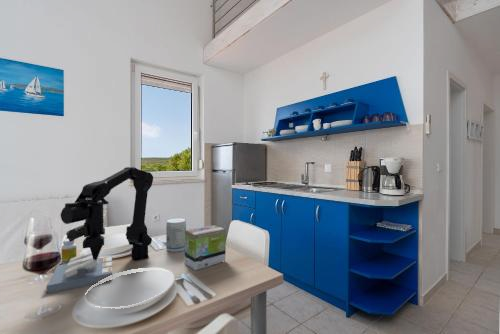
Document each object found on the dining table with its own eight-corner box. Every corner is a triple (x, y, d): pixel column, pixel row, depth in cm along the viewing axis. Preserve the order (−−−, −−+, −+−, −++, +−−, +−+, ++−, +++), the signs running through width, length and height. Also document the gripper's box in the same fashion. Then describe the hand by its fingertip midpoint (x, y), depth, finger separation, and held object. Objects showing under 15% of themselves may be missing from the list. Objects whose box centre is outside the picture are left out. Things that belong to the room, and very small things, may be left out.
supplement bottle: (68, 264, 106) (68, 242, 105) (58, 263, 107) (57, 241, 107) (79, 259, 111) (79, 238, 111) (69, 259, 112) (69, 237, 112)
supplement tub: (163, 248, 125) (163, 219, 125) (181, 244, 131) (181, 217, 131) (170, 254, 117) (170, 223, 117) (189, 249, 123) (188, 220, 123)
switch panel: (111, 262, 108) (111, 249, 108) (112, 279, 91) (112, 264, 91) (57, 271, 98) (57, 257, 98) (47, 293, 82) (46, 276, 82)
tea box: (195, 271, 98) (195, 234, 98) (184, 264, 106) (184, 229, 105) (226, 261, 108) (226, 228, 108) (213, 255, 116) (213, 224, 115)
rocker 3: (98, 261, 94) (97, 256, 93) (98, 264, 91) (96, 260, 90) (67, 273, 89) (65, 269, 89) (66, 277, 86) (64, 273, 86)
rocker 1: (99, 251, 104) (98, 247, 104) (99, 254, 101) (97, 250, 101) (72, 262, 99) (70, 258, 99) (70, 265, 96) (69, 261, 96)
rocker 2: (99, 257, 99) (98, 253, 99) (98, 260, 96) (97, 255, 96) (69, 266, 94) (68, 262, 94) (67, 270, 91) (66, 265, 91)
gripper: (71, 215, 96) (72, 255, 96) (63, 225, 79) (64, 273, 80) (104, 212, 101) (105, 250, 101) (103, 221, 85) (104, 266, 85)
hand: (95, 259), depth 92 cm, fingers closed
